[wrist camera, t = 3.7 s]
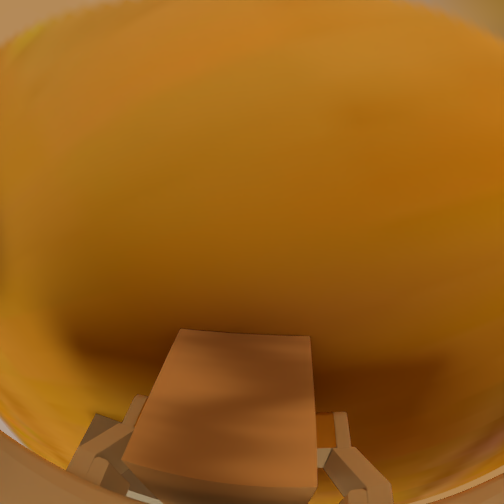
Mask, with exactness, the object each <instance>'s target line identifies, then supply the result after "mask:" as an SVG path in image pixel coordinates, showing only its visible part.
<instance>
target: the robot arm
mask: <svg viewBox="0 0 504 504" xmlns="http://www.w3.org/2000/svg"><path fill="white" fill-rule="evenodd" d="M148 397H149V396H145V395H140V394H137V395H136V396H135V397H134V399H133V401H132V403H131V405H130V407H129V409H128V412H127V414H126V416H125V418H124V420H123V422H122V424H120V423H118V424H116V425H115V426H113V427H111V428H110V429H108V430H106V431H105V432H103V433H102V434H100V435H98V436H97V437H95V438H93V439H91V440H90V441H88V442H86V443H85V444H83V445H81V446H79V447H78V448H77V450H76V452H75V454H74V456H73V458H72V460H71V462H70V464H69V466H68V468H67V470H64V469H62V468H60V467H58V466H56V465H55V464H53V463H51V462H49V461H47V460H46V459H44V458H42V457H40V456H39V455H37V454H35V453H34V452H32V451H31V450H29V449H27V448H26V447H24V446H23V445H21V444H19V443H18V442H17V441H15V440H14V439H12V438H11V437H9V436H8V435H6V434H5V433H4V432H2V431H1V430H0V504H149V503H146V502H143V501H139V500H136V499H133V498H130V497H127V496H126V495H127V492H128V489H129V486H130V484H129V482H128V481H127V480H126V479H125V478H124V477H123V476H122V475H121V474H123V473H124V472H125V471H126V470H128V469H129V468H128V467H127V466H126V465H125V463H124V462H123V461H122V460H121V459H122V457H123V454H124V452H125V450H126V447H127V445H128V442H129V440H130V438H131V436H132V433H133V431H134V429H135V426H136V424H137V422H138V419H139V417H140V415H141V413H142V410H143V408H144V406H145V404H146V401H147V399H148ZM315 416H316V439H317V468H323V469H324V470H325V472H326V473H327V474H328V476H329V477H330V479H331V480H332V481H333V483H334V484H335V485H336V487H337V488H338V489H339V491H340V492H341V494H342V495H343V496H344V498H343V499H342V501H341V502H340V503H339V504H394V503H393V495H392V488H391V483H390V482H389V481H388V480H387V479H386V478H385V477H384V476H383V475H382V474H381V473H380V472H379V471H378V470H377V469H376V468H375V467H374V466H373V465H372V464H371V463H370V462H369V461H368V460H367V459H366V458H365V457H364V456H363V455H362V453H361V452H360V451H359V450H358V449H357V448H356V447H351V439H350V432H349V424H348V417H347V413H346V412H345V411H342V412H315ZM428 504H504V473H503V474H500V475H498V476H496V477H494V478H492V479H490V480H488V481H486V482H484V483H481V484H479V485H477V486H475V487H473V488H470V489H467V490H465V491H462V492H460V493H457V494H455V495H453V496H449V497H446V498H444V499H441V500H438V501H435V502H431V503H428Z"/></svg>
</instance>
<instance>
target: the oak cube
mask: <svg viewBox="0 0 504 504" xmlns="http://www.w3.org/2000/svg"><path fill="white" fill-rule="evenodd" d="M121 460H122V461H123V462H124V463H125V465H126V466H127V467H128V468H129V469H130V470H131V471H132V472H133V474H134V475H135V476H136V477H137V478H138V479H139V480H140V481H141V482H142V483H143V484H144V485H145V486H146V487H147V488H148V489H149V491H150V492H151V493H152V494H153V495H155V496H156V497H157V498H158V499H159V500H160V501H161V502H162V503H163V504H308V502H309V501H310V499H311V497H312V496H313V494H314V492H315V491H316V489H317V487H318V477H317V439H316V416H315V398H314V382H313V367H312V354H311V342H310V336H284V335H259V334H241V333H226V332H213V331H201V330H191V329H181V328H180V330H179V332H178V334H177V336H176V339H175V341H174V343H173V345H172V347H171V349H170V351H169V353H168V356H167V358H166V360H165V362H164V364H163V366H162V368H161V371H160V373H159V375H158V377H157V379H156V382H155V384H154V386H153V388H152V390H151V393H150V395H149V397H148V399H147V401H146V404H145V406H144V408H143V410H142V413H141V415H140V417H139V419H138V422H137V424H136V426H135V429H134V431H133V433H132V436H131V438H130V440H129V442H128V445H127V447H126V450H125V452H124V454H123V457H122V459H121Z"/></svg>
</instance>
